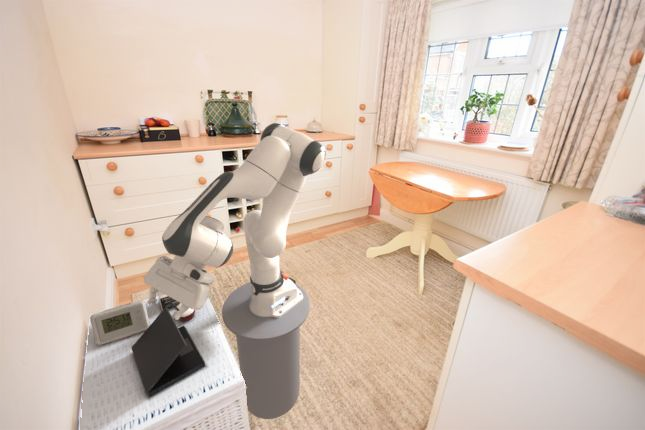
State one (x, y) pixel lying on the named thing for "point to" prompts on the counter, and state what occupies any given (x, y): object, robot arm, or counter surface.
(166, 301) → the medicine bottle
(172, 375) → the laptop
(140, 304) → the digital clock
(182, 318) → the cupcake
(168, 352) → the laptop screen
